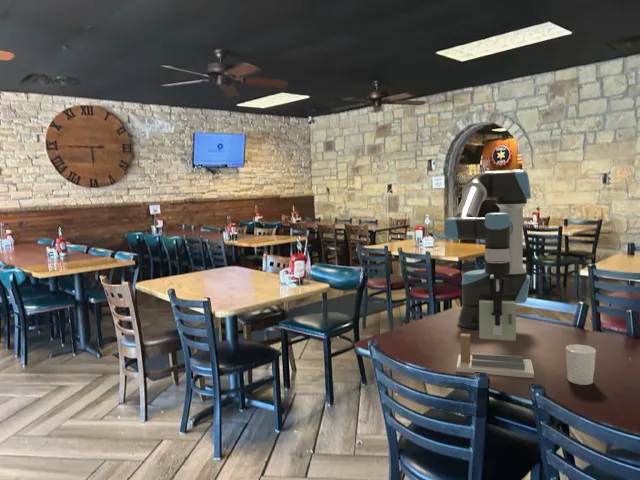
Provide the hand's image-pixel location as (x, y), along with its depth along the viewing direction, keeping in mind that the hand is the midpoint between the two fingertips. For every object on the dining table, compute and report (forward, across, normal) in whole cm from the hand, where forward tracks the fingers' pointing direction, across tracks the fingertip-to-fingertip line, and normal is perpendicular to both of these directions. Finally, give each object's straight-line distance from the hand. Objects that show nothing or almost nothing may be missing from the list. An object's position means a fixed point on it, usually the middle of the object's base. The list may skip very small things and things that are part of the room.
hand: (497, 332), depth 157 cm
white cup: (+12, -4, -23) cm, 27 cm away
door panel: (+2, 0, 0) cm, 2 cm away
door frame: (+12, 0, 0) cm, 12 cm away
